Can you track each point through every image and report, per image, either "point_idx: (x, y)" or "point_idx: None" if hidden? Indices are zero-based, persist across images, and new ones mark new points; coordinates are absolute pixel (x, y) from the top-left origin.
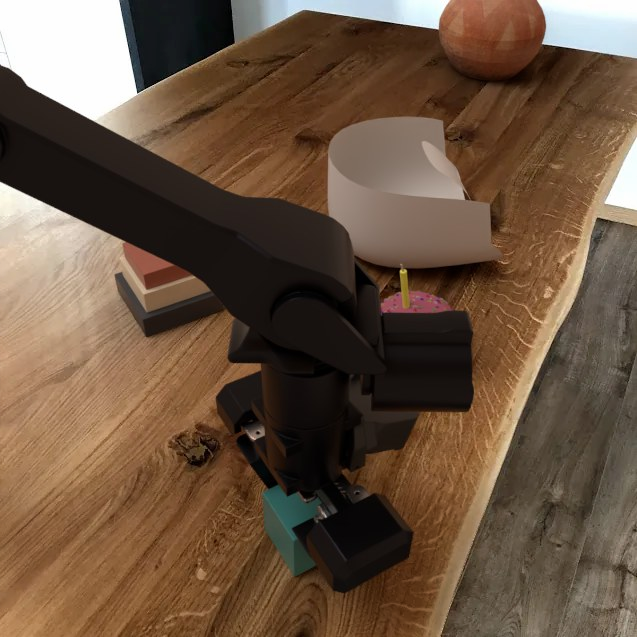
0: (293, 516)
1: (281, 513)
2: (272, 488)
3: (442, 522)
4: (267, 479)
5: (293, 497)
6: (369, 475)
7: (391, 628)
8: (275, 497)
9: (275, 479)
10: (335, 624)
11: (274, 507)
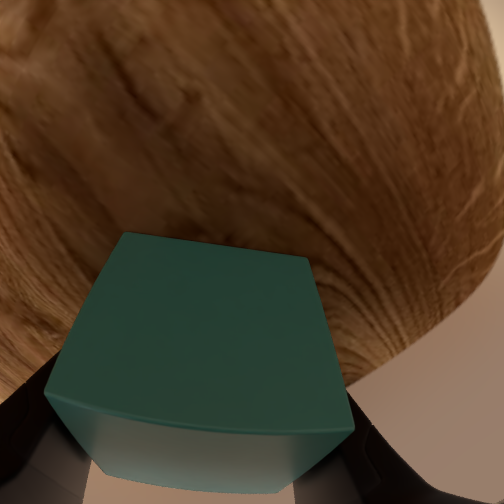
0: (218, 486)
1: (190, 488)
2: (102, 468)
3: (445, 2)
4: (81, 483)
5: (156, 472)
6: (136, 16)
7: (465, 297)
8: (133, 477)
9: (79, 468)
10: (384, 356)
11: (163, 486)
